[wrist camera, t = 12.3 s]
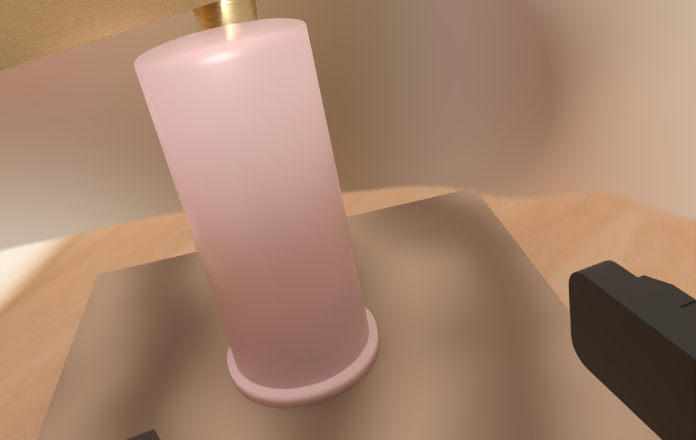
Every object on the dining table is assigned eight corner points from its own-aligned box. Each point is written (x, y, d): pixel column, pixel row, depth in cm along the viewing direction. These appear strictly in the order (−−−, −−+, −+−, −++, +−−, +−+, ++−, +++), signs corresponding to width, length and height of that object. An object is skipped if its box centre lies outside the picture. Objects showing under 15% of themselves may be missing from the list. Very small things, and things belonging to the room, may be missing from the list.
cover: (230, 425, 22) (107, 90, 17) (231, 324, 28) (138, 42, 22) (393, 385, 23) (326, 42, 17) (365, 293, 28) (306, 6, 22)
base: (-25, 747, 17) (-77, 690, 16) (110, 306, 34) (91, 261, 33) (712, 554, 18) (722, 484, 16) (477, 220, 35) (472, 174, 34)
